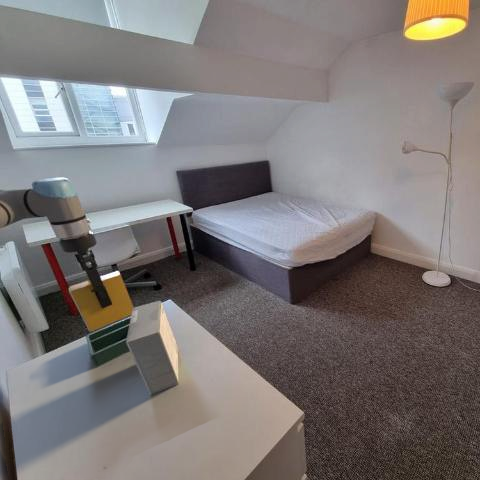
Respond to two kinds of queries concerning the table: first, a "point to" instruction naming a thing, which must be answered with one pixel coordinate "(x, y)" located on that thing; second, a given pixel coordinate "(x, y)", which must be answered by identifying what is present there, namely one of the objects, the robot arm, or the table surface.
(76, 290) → the book
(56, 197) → the robot arm
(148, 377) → the hard drive box
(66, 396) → the table surface
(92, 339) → the caddy
